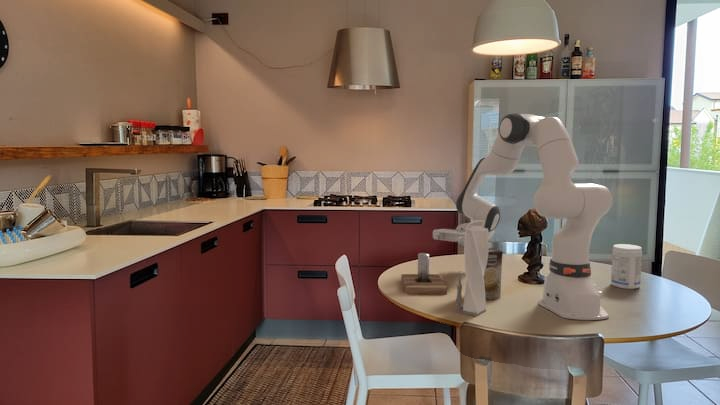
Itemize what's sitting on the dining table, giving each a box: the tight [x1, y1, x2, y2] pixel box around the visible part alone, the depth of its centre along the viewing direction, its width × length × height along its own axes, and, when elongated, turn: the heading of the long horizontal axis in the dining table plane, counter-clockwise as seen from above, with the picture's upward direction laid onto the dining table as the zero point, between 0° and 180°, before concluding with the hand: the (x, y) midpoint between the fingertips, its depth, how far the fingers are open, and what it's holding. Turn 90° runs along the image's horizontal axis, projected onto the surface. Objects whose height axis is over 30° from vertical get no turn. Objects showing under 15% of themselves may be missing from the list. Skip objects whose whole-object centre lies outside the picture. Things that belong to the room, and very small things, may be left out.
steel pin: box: [417, 252, 430, 283], centre depth 187 cm, size 4×4×12 cm
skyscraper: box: [454, 220, 490, 317], centre depth 159 cm, size 8×8×28 cm
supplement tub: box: [610, 243, 643, 290], centre depth 190 cm, size 10×10×15 cm
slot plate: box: [400, 273, 448, 295], centre depth 188 cm, size 18×14×2 cm
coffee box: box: [483, 247, 503, 300], centre depth 175 cm, size 9×6×16 cm
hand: (446, 238), depth 195 cm, fingers open, 8 cm apart
